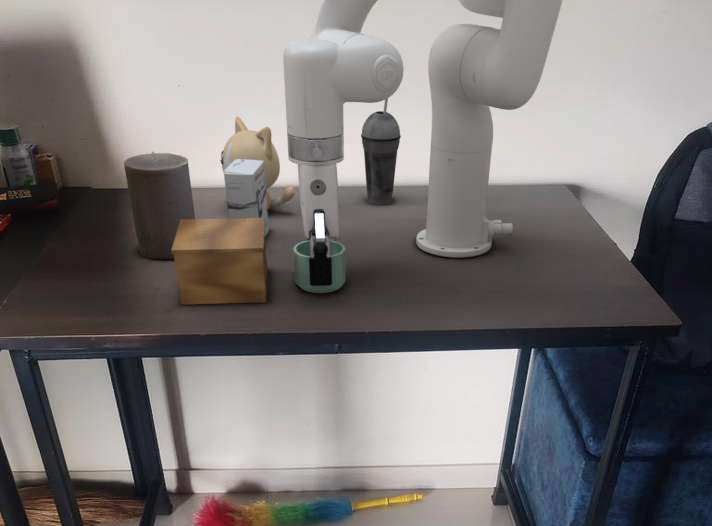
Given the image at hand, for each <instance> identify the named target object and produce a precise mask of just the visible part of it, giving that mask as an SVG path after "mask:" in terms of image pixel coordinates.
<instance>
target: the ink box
mask: <svg viewBox="0 0 712 526" xmlns="http://www.w3.org/2000/svg"><path fill="white" fill-rule="evenodd" d="M223 177H224V186H225V197H226V207H227V219H233V218H265V237H267V235H268V233H269V231H270V229H269V228H270V227H269V215H268V214H269V213H268V210H267V199H266V185H265V170H264V161H261V160H247V159H235V160H234V161H233V162H232V163H231V164H230V165H229V166H228V167H227V168H226V169H225V170H224V173H223Z"/></svg>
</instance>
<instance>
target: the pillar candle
mask: <svg viewBox="0 0 712 526" xmlns="http://www.w3.org/2000/svg"><path fill="white" fill-rule="evenodd" d="M123 166H124V172H125V179H126V185H127V191H128V196H129V201H130V202H129V203H130V207H131V211H132V216H133V217H132V218H133V222H134V223H133V224H134V228H135V230H134V231H135V236H136V239H137V244H138V248H139V249H138V252H139V254H140V255H141V256H142V257H145V258H147V259H152V260H153V259H154V260H175V259H174V254H172V251H171V250H172V246H173V243H174V240H175V236H176V233H177V230H178V226H179V223H180V220H181V219H196V213H195V206H194V198H193V191H192V183H191V176H190V175H191V174H190V167H189V159H188V158H187V157H185V156H182V155H180V154H174V153H170V152H156V153H155V151H151V153H144V154H143V153H142V154H138V155H133V156H131V157H127V158H126V159H125V160H124V161H123Z"/></svg>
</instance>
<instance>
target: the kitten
mask: <svg viewBox="0 0 712 526" xmlns="http://www.w3.org/2000/svg"><path fill="white" fill-rule="evenodd" d="M220 153H221V154H220V156H221V157H220V160H219V161H220V164H221V168H222V172H223V174H224V170H225V169H226V168H227V167H228V166H229V165H230V164H231V163H232V162H233V161H234V160H235V159H247V160H261V161H264V170H265V185H266V199H267V211H269V209H270V208H279V207H281V206H283V205H284V204H286V203H288V202H289V201H291V200H292V199H293V198H294V196H295V192H296V191H295V188H294V187H293V186H292V185H287V186H286V187H285V188H284V190H283V192H282V194H281V196H280V197H277V198H273V199H272V196H271V194H270V193H269V190H268V189H270V188H271V187H272V186H273V185H274V184H275V183H276V182H277V180H278V178H279V176H280V173H281V163H280V158H279V154H278V151H277V149H276V147H275V145H274V144H273V142H272V129H271V128H270V127H269V126H265V127H262V128H261V129H260V130H258V131H256V130H252V129H251V130H250V129H248V127H247V125H246V124H245V123H244V121H243V120H242V119H241V118H240V116H236V117H235V119H234V134H232V135H231V136H230V137H229V138H228V139H227V140H226V143H225V144H224V147H223V149H222V151H221V152H220Z"/></svg>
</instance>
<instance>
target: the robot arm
mask: <svg viewBox="0 0 712 526" xmlns="http://www.w3.org/2000/svg"><path fill="white" fill-rule="evenodd" d="M377 1H378V0H321V1H320V5H319V8H318V11H317V14H316V18H315V22H314V24H313V25H314V26H313V28H312V32H311V36H310V38H307V39H298V40H297V39H296V40H293V41H290V42H289V43H288V44H286V45H285V48H284V50H283V58H282V59H283V60H282V61H283V62H282V63H283V80H284V96H285V98H284V99H285V101H284V102H285V118H286V119H285V120H286V138H287V139H286V140H287V156H288V161H289V162H291V163H292V164H296V165H297V178H298V192H299V193H298V194H299V204H300V213H301V219H302V220H301V222H302V226H303V231H304V232H303V233H304V238H306V241H307V240H310V254H311V257H310V258H309V274H310V285H311V286H330V285H332V258H331V257H330V242H329V240H331V239H330V238H334V240H337V239H338V238H339V237H340V220H339V219H340V217H339V181H338V179H339V178H338V167H337V164H339V163H341V162H343V161H344V159H345V145H344V144H345V142H344V141H345V138H344V137H345V135H344V131H345V130H344V129H345V128H344V104H345V103H365V104H366V103H367V104H373V103H375V104H376V103H380V102H383V101H385V99H387V98H388V99H389V98H391V97H392V96H393V95H394V94H395V93H396V92H397V91H398V89H399V88H400V86H401V84H402V81H403V78H404V69H405V67H404V61H403V58H402V56H401V54H400V52H399V50H398V49H397V48H396V47H395V46H394V44H392V43H391V42H390V41H387V40H386V39H383V38H381V37H378V36H373V35H368V34H364V33H361V32H362V29H363V27H364V24H365V22H366V20H367V17H368V16H369V14H370V12H371V11H372V8H373V7H374V5H376V3H377ZM458 2H459V4H460V5H461V6H462V7H463V8H464V9H466V10H467V11H469V12H472V13H474V14H478V15H483V16H488V17H495V18H500V19H502V21H501V26H500V28H495V27H491V26H485V25H479V24H473V23H458V24H453V25H450V26H448V27H446V28H445V29H443V30H442V31H441V32H440V33H439V34H438V35H437V36H436V38H434V40H433V43H432V44H431V47H430V50H429V54H428V62H427V72H428V73H427V74H428V83H429V90H430V99H431V134H430V135H431V136H430V150H429V151H430V153H429V169H428V173H429V174H428V187H427V204H426V205H427V206H426V222H425V223H426V225H425V228H424V229H422V230H421V231H419V232H418V233H417V234H416V239H415V243H416V246H417V247H418V248H419V249H420V250H422V251H423V252H425V253H428V254H431V255H434V256H438V257H444V258H455V259H457V258H460V259H461V258H471V257H477V256H481V255H483V254H485V253H487V252H488V251H490V250H491V248H492V243H493V239H492V238H494V236H512V235H513V230H514V227H513V223H512V222H503V221H502V219H493V220H489V219H488V218H487V216H486V210H487V200H488V190H489V180H490V171H491V161H492V153H493V152H492V149H493V141H494V122H493V115H492V111H491V109H490V107H491V108H494V109H499V110H506V111H507V110H508V111H512V110H517V109H520V108H521V107H523V106H525V105H526V104H527V103H528V102H529V101H530V99H532V97H533V95H534V94H535V92H536V90H537V88H538V86H539V83H540V81H541V78H542V75H543V73H544V68H545V65H546V63H547V62H546V61H547V59H548V58H547V57H548V55H549V51H550V47H551V43H552V40H553V36H554V32H555V29H556V26H557V23H558V18H559V15H560V12H561V7H562V3H563V0H458ZM325 241H326V244H325ZM314 242H316V244H314Z"/></svg>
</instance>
